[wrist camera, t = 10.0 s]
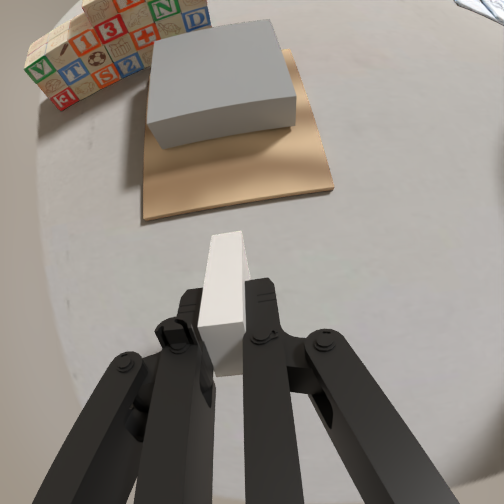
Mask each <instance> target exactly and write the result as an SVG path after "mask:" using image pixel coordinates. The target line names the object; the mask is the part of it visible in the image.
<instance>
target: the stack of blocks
mask: <svg viewBox="0 0 504 504" xmlns="http://www.w3.org/2000/svg"><path fill="white" fill-rule="evenodd" d="M82 9H83V10H84V12H83V13H82V14H80V15H78V16H76V17H74V18H73V19H71V20H69V21H67V22H65V23H64V24H62V25H60V26H58V27H57V28H55V29H54V30H52V31H50V32H49V33H47V34H46V35H44V36H43V37H41V38H40V39H38V40H37V41H35V42H34V43H32V44H31V45H30V47H29V51H28V54H27V59H26V62H25V66H24V70H25V72H26V73H27V74H28V75H29V77H30V78H31V79H32V80H33V81H34V82H35V83H36V84H37V85H38V86H39V87H40V89H41V90H42V91H43V92H44V93H45V95H46V96H47V97H48V98H50V100H51V101H52V102H53V103H54V105H55V106H56V107H57V108H58V109H59V110H60V111H63V110H64V109H66V108H67V107H69V106H71V105H72V104H74V103H76V102H77V101H79V100H82V99H84V98H86V97H87V96H89V95H91V94H93V93H95V92H97V91H98V90H100V89H102V88H105V87H107V86H109V85H111V84H113V83H115V82H117V81H119V80H121V79H122V78H124V77H127V76H129V75H131V74H133V73H135V72H138V71H140V70H142V69H144V68H146V67H149V66H151V65H152V57H153V48H154V41H158V40H161V39H165V38H168V37H172V36H176V35H180V34H184V33H189V32H193V31H198V30H202V29H207V28H212V26H211V22H210V16H209V12H208V7H207V0H83V2H82Z"/></svg>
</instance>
